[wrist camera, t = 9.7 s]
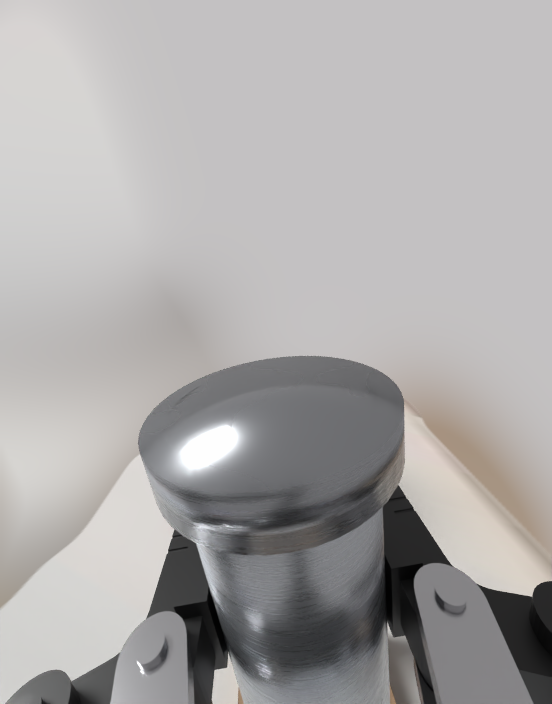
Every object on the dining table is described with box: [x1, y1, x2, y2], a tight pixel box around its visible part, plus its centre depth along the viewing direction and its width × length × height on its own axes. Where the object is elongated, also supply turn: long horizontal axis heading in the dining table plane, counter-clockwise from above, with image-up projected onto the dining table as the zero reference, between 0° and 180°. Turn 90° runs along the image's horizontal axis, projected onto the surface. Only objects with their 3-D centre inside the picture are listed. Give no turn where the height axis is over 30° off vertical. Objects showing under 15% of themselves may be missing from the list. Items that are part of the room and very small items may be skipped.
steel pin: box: [138, 356, 405, 704], centre depth 7 cm, size 5×5×12 cm
